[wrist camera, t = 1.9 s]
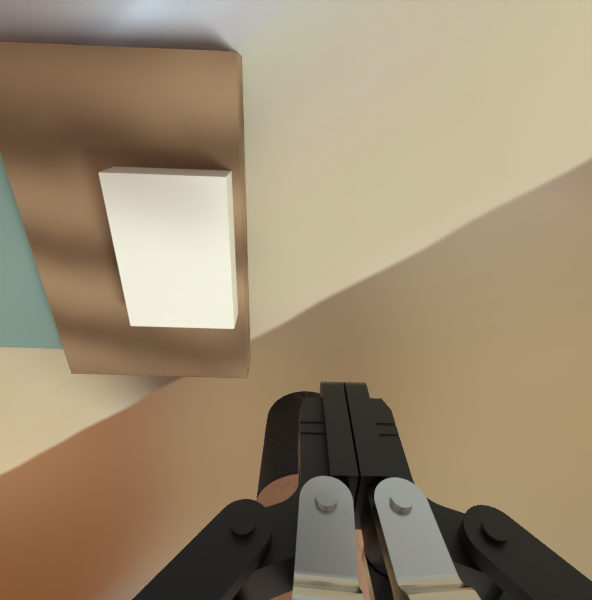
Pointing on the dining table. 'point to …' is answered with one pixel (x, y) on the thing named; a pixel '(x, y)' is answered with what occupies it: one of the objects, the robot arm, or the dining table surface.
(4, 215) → the rubber mat
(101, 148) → the board
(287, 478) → the travel mug
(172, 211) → the plastic block
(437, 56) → the dining table surface
